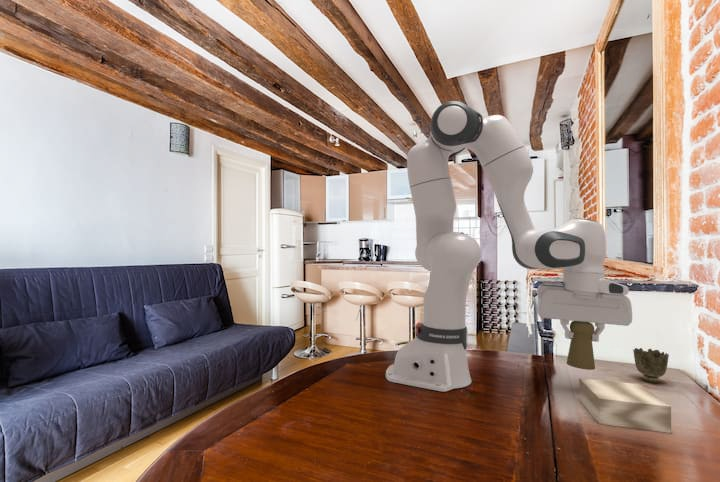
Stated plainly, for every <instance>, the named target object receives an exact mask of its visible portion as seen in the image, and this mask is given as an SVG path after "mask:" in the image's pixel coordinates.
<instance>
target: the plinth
mask: <svg viewBox="0 0 720 482" xmlns="http://www.w3.org/2000/svg"><path fill="white" fill-rule="evenodd" d="M578 382H579V384H578V386H579V388H578V389H579V391H578V392H579V393H578V394H579V395H578V396H579V397H578V398H579V399H578V400H579V402H580V403H581V404H582V405H583V406H584V408H586V410H587V409H588V410H587V411H588V412H589V413H590V414H591V415H592V417H593V418H594V419H595V420H596V422H597V423H598V424H599V425H605V426H606V425H607V426H614V427H620V426H621V428H628V429H639V430H646V431H650V432H651V431H653V432H660V433H666V434H667V433H669V434H671V433H672V406H671V405H670V404H668V403H667V402H666V401H664V400H662V399H661V398H660V397H658V396H657V395H656V394H654V393H653V392H651V391H650V390H648V388H646V387H644V386H643V385H642V384H640V383H631V382H622V381H612V380H603V379H602V380H601V379H591V378H582V377H579V381H578Z"/></svg>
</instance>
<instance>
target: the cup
mask: <svg viewBox="0 0 720 482" xmlns="http://www.w3.org/2000/svg"><path fill="white" fill-rule="evenodd" d="M632 350H633V358H634V364H635V368H636V370H637V371H638V372H639V373H640V374H642V376H641V378H642V380H644V381H645V382H648V383H653V384H657V383H659V382H660V377H663V376H665V374H666V372H667V368H668V363H669V357H670V355H669V353H668V352H666V353H665V352H664V351H662V352H660V350H659V349H655V350H652V348H648V349H647V351H646V350H644V349H643V348H642V347H640V348H638V347H637V348H636V347H634V348H633V349H632Z"/></svg>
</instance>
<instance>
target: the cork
mask: <svg viewBox="0 0 720 482" xmlns="http://www.w3.org/2000/svg"><path fill="white" fill-rule="evenodd" d="M569 331H571V332H573V333H574V335H573V339H570V343H569V350H568V352H567V353H568V354H567V359H566V365H568V366H570V367H573V368H576V369H580V370H587V371H588V370H589V371H591V370H593V371H594V370H596V365H595V363H596V362H595V355H594V348H593V347H594V346H593V341H592V337H591V336H592V335H593V334H594V331H595V325H594V323H591V322H580V321H571V322H570V323H569Z"/></svg>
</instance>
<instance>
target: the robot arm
mask: <svg viewBox="0 0 720 482" xmlns="http://www.w3.org/2000/svg"><path fill="white" fill-rule="evenodd" d="M429 129H430V131H429V137H428V138H427V139H426V140H425V141H421V142H418V143H417V144H415V145H413V146H412V147H411V148H410V149H409V150H408V152H407V156H406V165H407V167H406V168H407V178H408V183H409V189H410V193H411V199H412V200H411V201H412V204H413V210H414V215H415V229H416V230H415V233H416V234H415V235H416V239H415V240H416V246H415V251H414V252H415V253H414V256H415V259H416V261H417V263H418V264H419V265H420V266H421V267H422V268H423V269H425V270H427V271H428V272H430V276H429V281H428V284H427V287H426V291H425V292H424V293H423V313H422V315H423V319H422V320H423V322H421V321H420V322H419V321H418V322H416V324H415V327H414V328H415V337H414V338H412V339H411V340H410V341H408V342H407V343H406V344H404V345H402V347H401V348H399V349H398V351H397V352H396V355H395V356H394V357H395V358H394V363H392V364H390V365H389V366H388V367H387V369H386V370H385V378H386V380H387V381H388V382H391V383H397V384H400V385H401V384H402V385H407V386H411V387H416V388H420V389H426V390H432V391H438V392H448V391H451V390H454V389H460V388H465V387H468V386H470V385H471V384H472V378H471V375H470V369H469V363H468V358H467V348H468V338H469V337H468V328H467V326H466V317H467V316H466V311H467V308H466V305H467V294H468V290H469V286H470V281H471V278H472V276H473V273H474V270H475V269H476V268H477V267H478V265H479V264H480V262H481V258H482V252H481V251H482V249H481V247H480V244H479V243H478V241H477V240H476V239H475V238H473V237H472V236H470V235H468V234H465V233H462V232H458V231H454V220H455V219H454V218H455V214H456V211H457V203H456V202H457V201H456V197H455V193H454V188H453V182H452V179H451V173H450V168H449V160H450V159H452V157H454V156H456V155H457V154H460V153H462V152H463V151H464V150H465V149H466V150H467V149H468V150H470V151H471V152H473V154H474V155H475V156H476V158H477V159H478V161H479V164H480V166H481V168H482V170H483V172H484V173H485V176H486V179H487V180H488V182H489V185H490V187H491V188H492V191H493V193H494V196H495V198H496V200H497V201H496V202H497V204H498V208H499V209H500V212H501V214H502V217H503V219H504V222H505V224H506V226H507V229H508V232H509V234H510V237H511V251H512V256H513V259H514V260H515V261H516V263H517V264H518V265H519V266H521V267H523V268H524V269H528V270H537V269H538V270H539V269H541V270H542V269H544V270H556V269H561V268H562V269H563V273H562V275H563V277H562V282H558V281H553V282H552V281H544V282H543V283H540V284H539V285H538V286H537V290H536V294H537V298H538V301H537V307H536V313H537V315H538V316H539V317H540V318H542V319H549V320H559V321H560V322H559V323H560V324H561V327H562V328H563V330H564V338H565V339H568V340H571V339H573V335H574V333H573V332H571V331H570V328H569V327H568V326H570V321H571V322H572V321H580V322H589V323H591V324H594V327H596V328H595V329H594V334H593V335H592V336H591V337H592V342H597V343H599V341H600V340H599V339H600V335H601V334H602V332H603V331H604V330H605V328H606V327H605V325H613V326H614V325H616V326H625V327H626V326H627V327H629V325H631V324H632V322H633V308H632V303H631V300H630V298H629V297H628V295H629V287H628V286H627V285H624V284H621V283H618V282H615V281H613V280H610V279H606V270H605V268H604V264H605V263H604V262H605V259H606V256H607V255H606V254H607V252H606V251H607V240H606V232H605V229H604V226H603V224H602V223H600V222H598V221H596V220H594V219H588V218H571V219H569V220H568V221H567V222H565V223H564V224H562V225H559V226H557V227H553V228H551V229H548V230H543V231H539V230H537V228H536V227H535V226H534V224H533V222H532V219H531V216H530V214H529V211H528V208H527V206H526V203H525V192H526V190H527V186H528V185H529V183H530V181H531V179H532V177H533V175H534V174H533V173H534V166H533V163H532V159H531V156H530V153H529V151H528V150H527V148H526V146H525V144H524V142H523V140H522V138H521V137H520V135H519V133H518V132H517V130H516V129H515V127H514V126H513V125H512V124H511V122H510V121H509V120H508V119H507V118H506V117H505V116H504V115H501V114H494V115H493V114H492V115H488V116H486V117H484V118H483V115H482V114H481V113H480V112H479V111H477V110H474V109H473V108H471V106H469V105H467V104H466V103H464V102H461V101H459V100H458V101H457V100H450V101H449V100H448V101H445V102H444V103H442V104H441V105H439V106H438V107H437V108H436V109H435V111H434V113H433V114H432V116H431V119H430V124H429Z"/></svg>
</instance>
